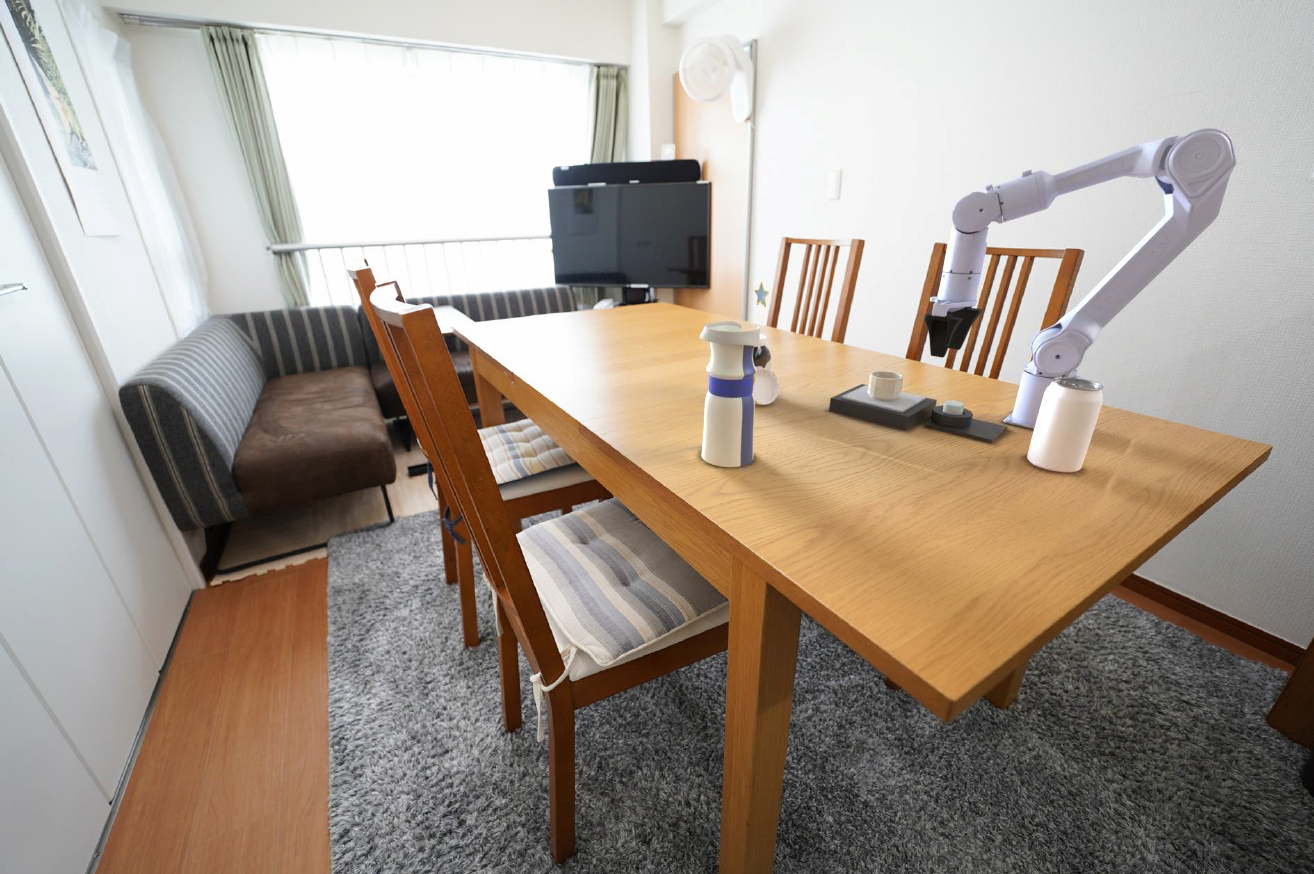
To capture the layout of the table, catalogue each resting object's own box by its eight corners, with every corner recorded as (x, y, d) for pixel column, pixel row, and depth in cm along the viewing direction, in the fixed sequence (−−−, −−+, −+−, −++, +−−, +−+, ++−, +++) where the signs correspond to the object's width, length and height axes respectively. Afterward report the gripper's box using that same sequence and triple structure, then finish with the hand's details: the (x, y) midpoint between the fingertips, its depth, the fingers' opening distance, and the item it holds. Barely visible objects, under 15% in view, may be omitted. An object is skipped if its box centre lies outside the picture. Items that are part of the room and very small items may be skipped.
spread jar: (740, 384, 114) (742, 329, 110) (791, 394, 108) (796, 336, 103) (711, 400, 105) (712, 340, 101) (764, 411, 99) (769, 348, 94)
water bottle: (721, 440, 87) (728, 277, 77) (766, 455, 81) (779, 282, 71) (687, 455, 81) (689, 283, 72) (732, 472, 76) (741, 288, 66)
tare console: (1006, 430, 89) (1010, 416, 88) (991, 444, 84) (994, 429, 83) (940, 415, 96) (943, 401, 95) (922, 426, 91) (925, 412, 90)
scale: (934, 413, 97) (937, 397, 96) (906, 431, 89) (909, 414, 88) (860, 396, 106) (862, 381, 105) (828, 411, 98) (830, 395, 97)
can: (1064, 478, 73) (1090, 393, 69) (1016, 460, 78) (1037, 380, 74) (1090, 468, 76) (1117, 386, 71) (1042, 451, 81) (1064, 374, 77)
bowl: (904, 396, 96) (908, 374, 95) (891, 403, 93) (895, 381, 91) (875, 390, 100) (878, 369, 98) (861, 396, 97) (864, 375, 95)
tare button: (965, 412, 91) (967, 403, 90) (958, 417, 89) (960, 407, 88) (946, 408, 93) (948, 399, 92) (939, 413, 91) (941, 403, 90)
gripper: (952, 267, 98) (937, 342, 103) (919, 274, 88) (905, 355, 93) (995, 270, 93) (978, 348, 98) (966, 277, 84) (948, 363, 89)
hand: (945, 352), depth 95 cm, fingers open, 7 cm apart
